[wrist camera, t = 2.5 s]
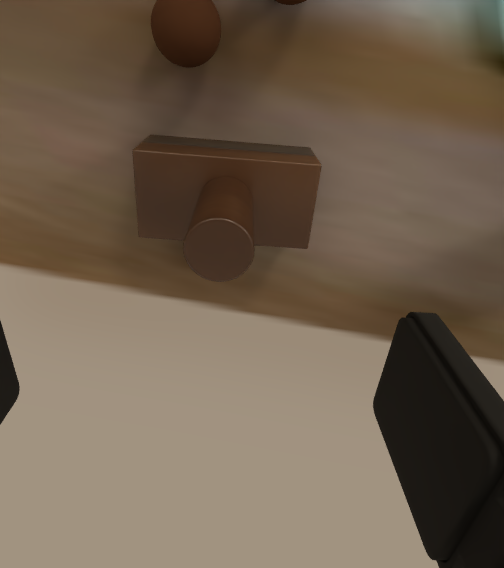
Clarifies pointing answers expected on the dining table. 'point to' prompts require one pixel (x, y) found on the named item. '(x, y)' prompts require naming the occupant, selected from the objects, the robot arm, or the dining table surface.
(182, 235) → the wooden stamp
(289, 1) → the crumb
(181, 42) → the crumb
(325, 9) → the dining table surface
